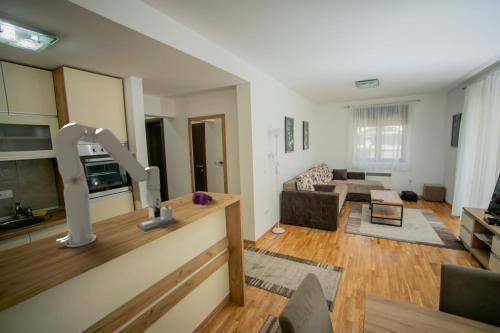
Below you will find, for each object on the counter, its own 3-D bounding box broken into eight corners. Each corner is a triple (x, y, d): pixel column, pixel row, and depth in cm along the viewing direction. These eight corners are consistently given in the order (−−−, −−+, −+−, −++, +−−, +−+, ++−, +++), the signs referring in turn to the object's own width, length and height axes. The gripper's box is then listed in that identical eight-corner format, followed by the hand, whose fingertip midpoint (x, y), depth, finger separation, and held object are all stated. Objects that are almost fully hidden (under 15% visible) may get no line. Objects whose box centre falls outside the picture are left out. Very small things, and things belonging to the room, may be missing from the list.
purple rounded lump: (203, 206, 190) (191, 202, 174) (205, 196, 193) (193, 192, 177) (212, 207, 187) (200, 203, 171) (214, 197, 189) (203, 193, 173)
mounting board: (144, 231, 124) (143, 214, 123) (137, 226, 131) (136, 210, 130) (176, 221, 139) (175, 206, 138) (168, 217, 146) (168, 203, 145)
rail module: (153, 220, 130) (153, 208, 129) (149, 218, 134) (148, 206, 133) (161, 218, 133) (160, 206, 132) (156, 216, 137) (155, 204, 136)
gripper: (140, 186, 134) (142, 214, 136) (153, 190, 122) (155, 221, 125) (153, 184, 139) (154, 211, 142) (166, 188, 128) (167, 217, 130)
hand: (155, 215), depth 133 cm, fingers closed on rail module, 6 cm apart
